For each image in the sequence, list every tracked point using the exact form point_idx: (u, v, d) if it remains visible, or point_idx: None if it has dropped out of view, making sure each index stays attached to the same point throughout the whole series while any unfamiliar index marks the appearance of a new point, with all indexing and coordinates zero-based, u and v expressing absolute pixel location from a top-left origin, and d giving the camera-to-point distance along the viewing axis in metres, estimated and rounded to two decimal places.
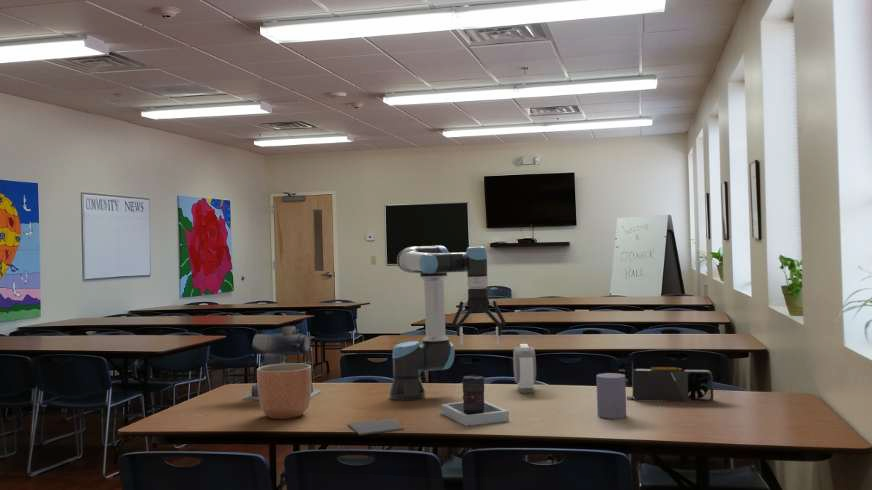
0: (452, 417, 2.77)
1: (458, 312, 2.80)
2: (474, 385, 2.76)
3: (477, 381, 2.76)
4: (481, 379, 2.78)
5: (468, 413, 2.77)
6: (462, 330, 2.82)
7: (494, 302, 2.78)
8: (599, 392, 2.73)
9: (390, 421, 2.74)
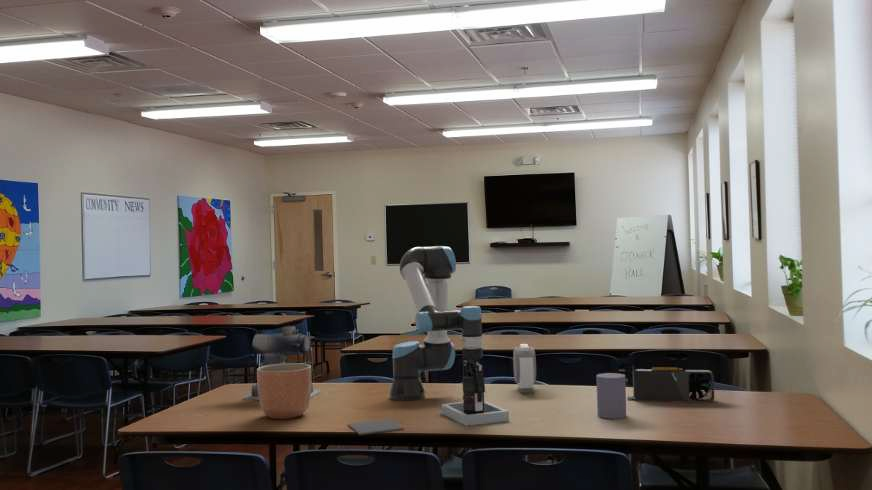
0: (452, 417, 2.77)
1: (463, 372, 2.85)
2: (474, 385, 2.76)
3: None
4: None
5: (468, 413, 2.77)
6: None
7: (476, 367, 2.74)
8: (599, 392, 2.73)
9: (390, 421, 2.74)
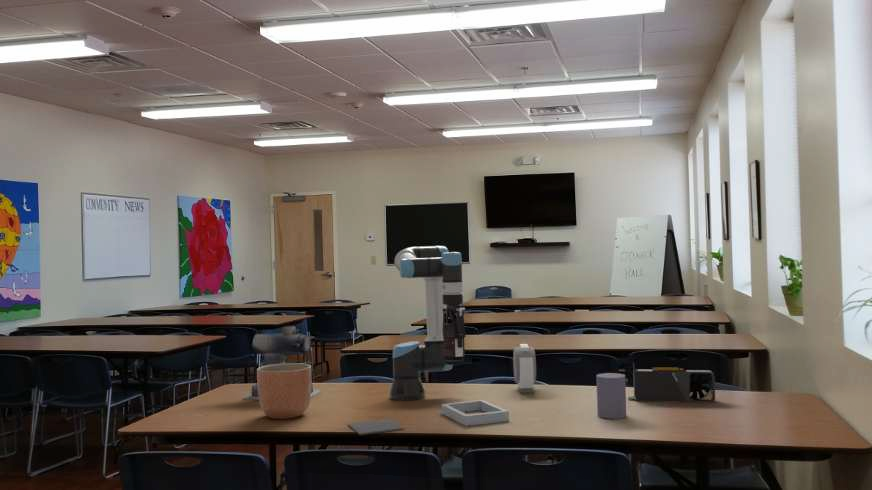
0: (452, 417, 2.77)
1: (443, 319, 2.83)
2: None
3: None
4: None
5: (448, 359, 2.75)
6: None
7: (457, 312, 2.72)
8: (599, 392, 2.73)
9: (390, 421, 2.74)
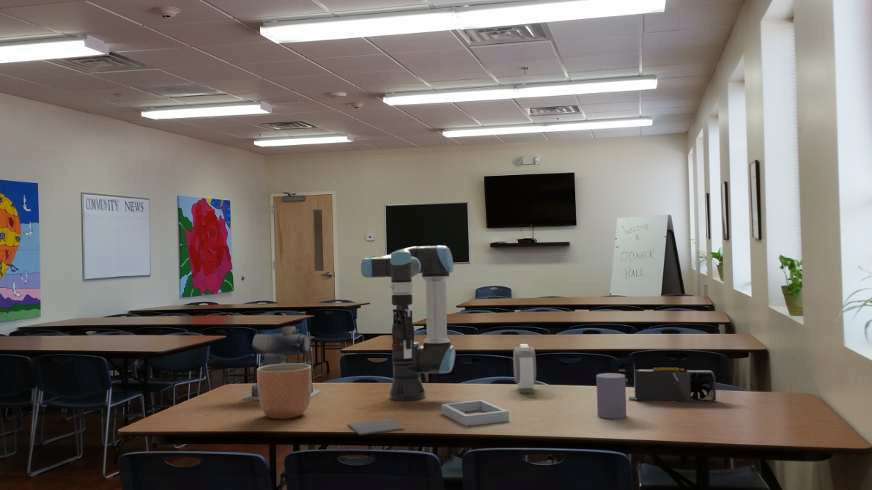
0: (452, 417, 2.77)
1: (393, 320, 2.77)
2: (403, 332, 2.68)
3: None
4: None
5: (397, 361, 2.68)
6: None
7: (405, 312, 2.66)
8: (599, 392, 2.73)
9: (390, 421, 2.74)
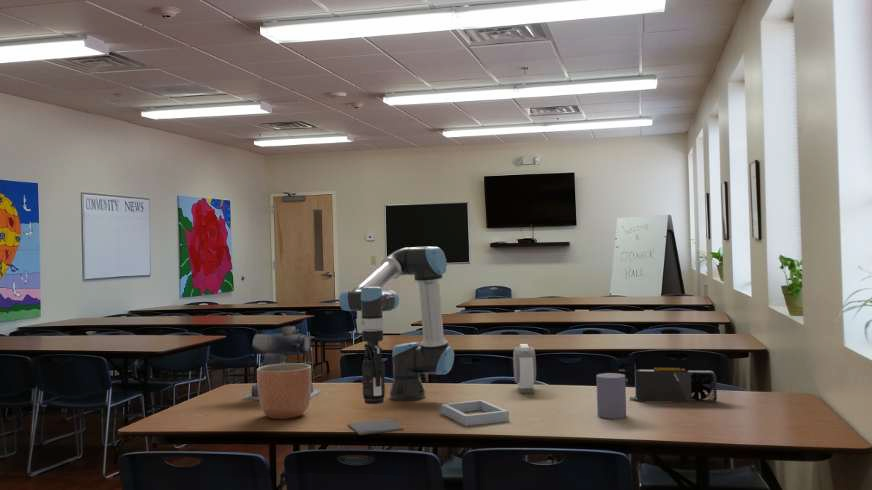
0: (452, 417, 2.77)
1: (365, 356, 2.74)
2: None
3: None
4: None
5: (367, 398, 2.65)
6: None
7: (374, 349, 2.62)
8: (599, 392, 2.73)
9: (390, 421, 2.74)
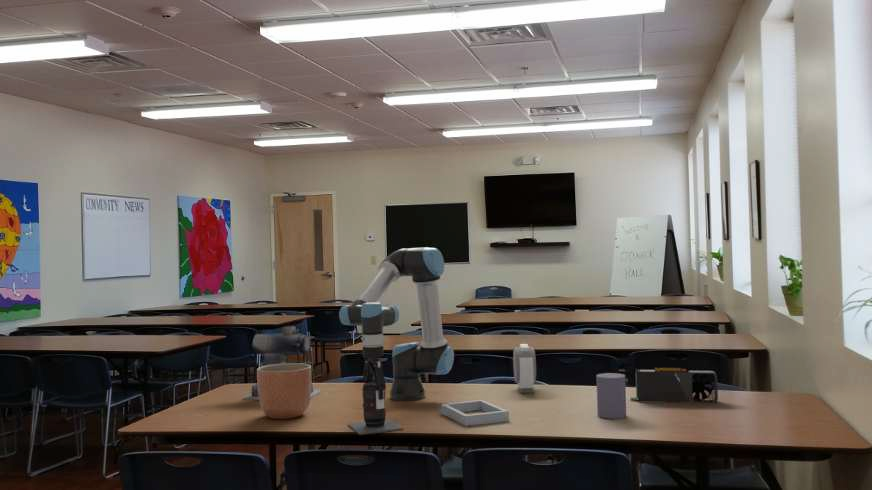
0: (452, 417, 2.77)
1: (364, 368, 2.75)
2: (373, 392, 2.64)
3: None
4: None
5: (368, 421, 2.65)
6: None
7: (375, 363, 2.62)
8: (599, 392, 2.73)
9: (390, 421, 2.74)
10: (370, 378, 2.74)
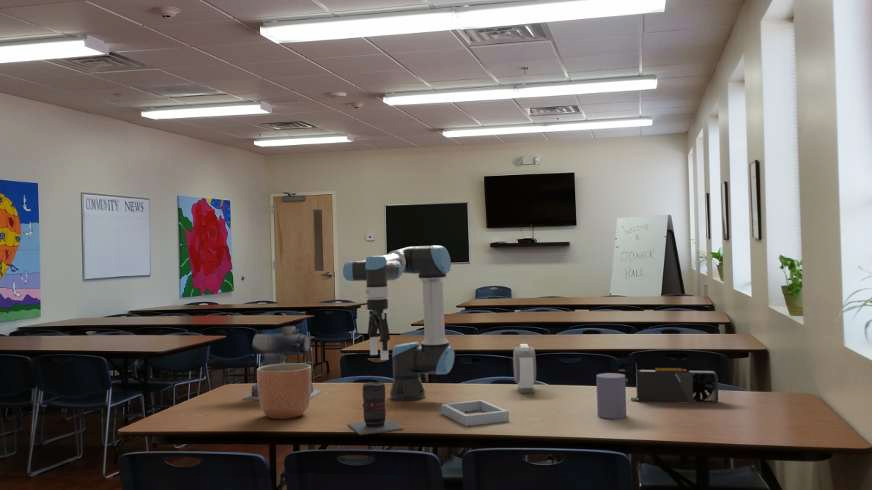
0: (452, 417, 2.77)
1: (369, 321, 2.77)
2: (374, 392, 2.64)
3: (376, 388, 2.65)
4: (381, 386, 2.66)
5: (368, 421, 2.65)
6: (376, 340, 2.76)
7: (379, 315, 2.64)
8: (599, 392, 2.73)
9: (390, 421, 2.74)
10: (374, 332, 2.76)
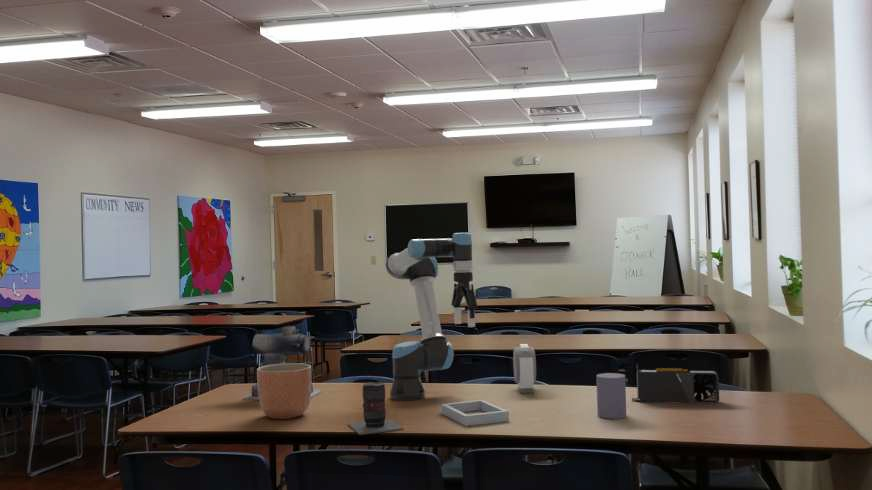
0: (452, 417, 2.77)
1: (453, 293, 3.03)
2: (374, 392, 2.64)
3: (376, 388, 2.64)
4: (381, 386, 2.66)
5: (368, 422, 2.65)
6: (460, 310, 3.03)
7: (466, 286, 2.90)
8: (599, 392, 2.73)
9: (390, 421, 2.74)
10: (459, 302, 3.02)
